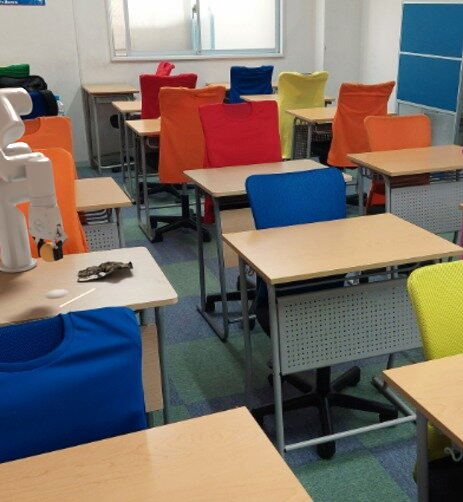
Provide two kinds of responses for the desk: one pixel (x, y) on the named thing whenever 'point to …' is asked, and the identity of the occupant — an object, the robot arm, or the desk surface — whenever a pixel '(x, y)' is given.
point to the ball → (47, 252)
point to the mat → (62, 295)
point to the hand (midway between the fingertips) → (50, 257)
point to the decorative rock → (103, 269)
